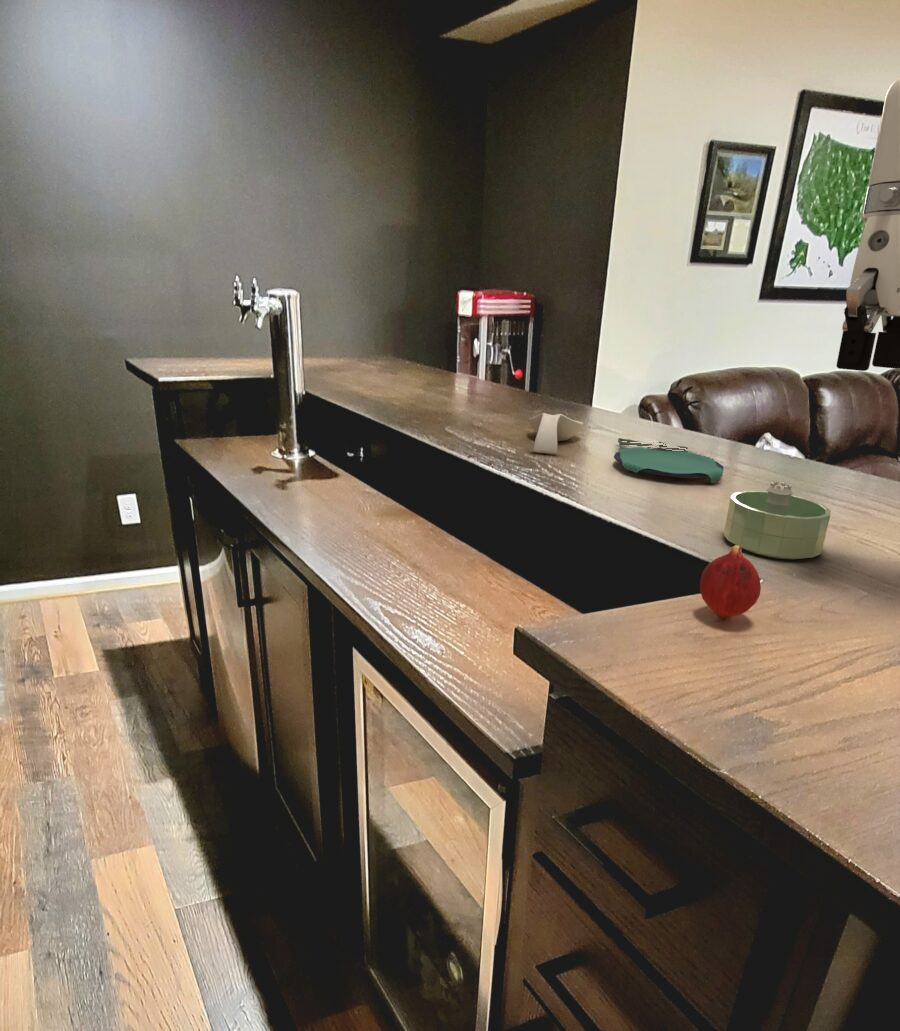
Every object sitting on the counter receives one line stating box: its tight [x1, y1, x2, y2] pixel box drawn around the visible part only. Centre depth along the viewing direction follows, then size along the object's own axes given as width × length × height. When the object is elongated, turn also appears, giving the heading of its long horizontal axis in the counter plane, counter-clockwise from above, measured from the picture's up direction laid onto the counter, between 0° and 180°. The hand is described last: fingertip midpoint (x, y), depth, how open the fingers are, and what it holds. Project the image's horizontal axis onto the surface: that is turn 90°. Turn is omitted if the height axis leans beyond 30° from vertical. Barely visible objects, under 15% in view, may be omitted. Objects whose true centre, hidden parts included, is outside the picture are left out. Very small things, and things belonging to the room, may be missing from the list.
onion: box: [699, 544, 762, 620], centre depth 74 cm, size 6×6×8 cm
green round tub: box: [723, 490, 831, 560], centre depth 97 cm, size 12×12×6 cm
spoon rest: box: [528, 412, 584, 455], centre depth 152 cm, size 24×12×7 cm, turn 167°
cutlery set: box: [613, 437, 725, 485], centre depth 140 cm, size 20×30×2 cm, turn 171°
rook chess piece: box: [765, 481, 794, 516], centre depth 97 cm, size 4×4×8 cm
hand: (869, 368), depth 82 cm, fingers open, 9 cm apart
